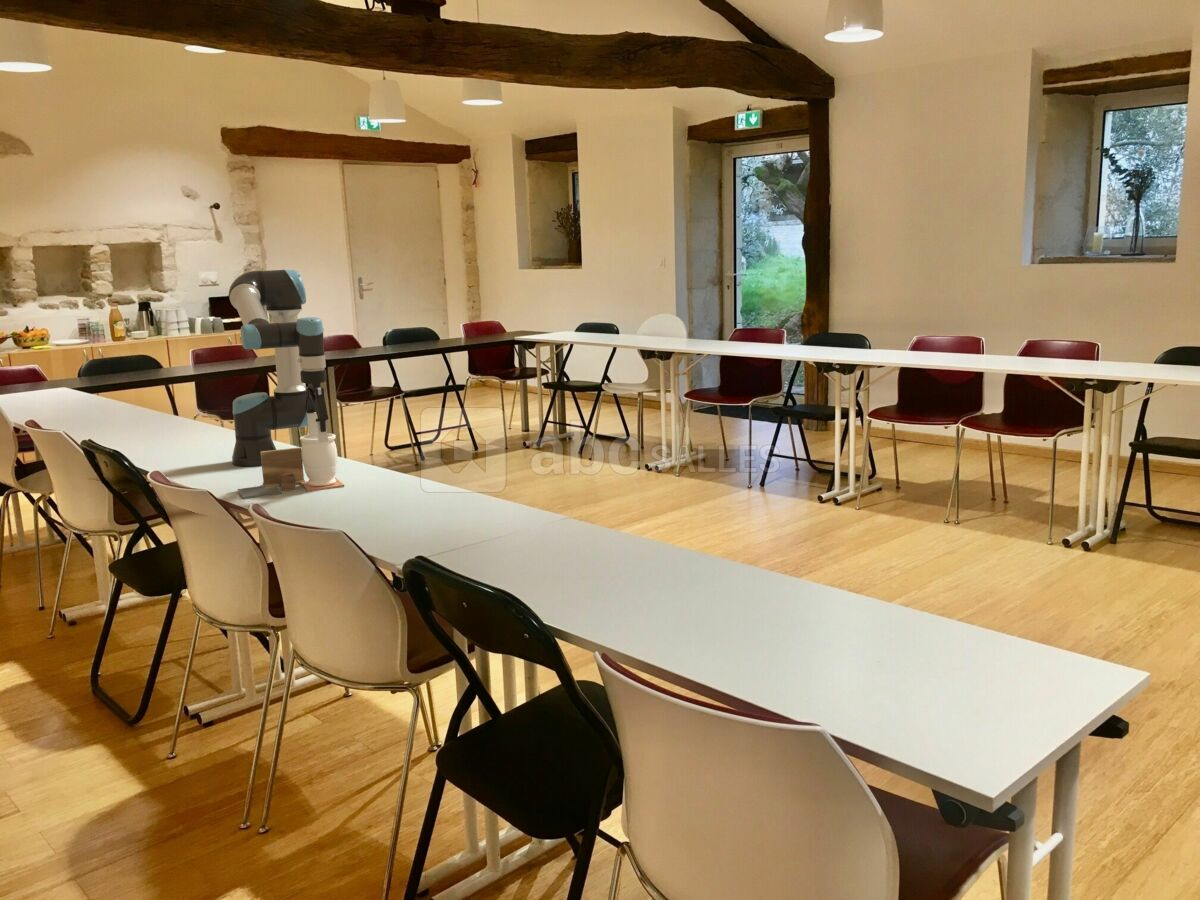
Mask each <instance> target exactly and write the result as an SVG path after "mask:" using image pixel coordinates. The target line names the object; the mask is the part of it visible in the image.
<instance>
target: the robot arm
mask: <svg viewBox="0 0 1200 900" xmlns="http://www.w3.org/2000/svg"><path fill="white" fill-rule="evenodd" d="M228 298H229V301H230V304H231V305H232V306H233V308H234V309H236V310H237V312H238V313H237V314H238V315H239V318H240V321H241V323H242V326H241V327H240V340H241V345H242V347H243V349H245V350H254V351H255V350H256V351H257V350H263V349H264V350H265V349H266V350H267V349H274V359H275V371H276V380H277V385H276V387H275V388H274V389H273V395H270V396H269V395H268V393H267V392H265V391H264V392H263V391H261V392H254V393H253V392H252V393H249V394H244V395H241V396H238V397H235V399H233V401H232V412H231V413H232V415H233V424H234V435H235V443H234V448H233V453H232V455H231V456H232V457H231V461H232V462H231V463H232V465H234V466H238V467H256V466H262V462H261V452H262V451H271V450H277V448H276V445H275V442H274V441H273V438H272V431H275V430H284V429H293V428H294V429H295V428H296V429H300V428H303V427H307V430H308V431H307V432H308V435H309V434H317V433H318V441H319V443H321V442H328V432H329V431H328V420H329V415H328V414H329V413H328V408H327V403H326V398H325V392H324V391H325V389H324V387H321V383H326V381H327V378H328V377H327V370H326V369H325V368H326V367H327V365H326V364H327V363H326V353H325V341H324V332H325V331H324V325H323V320H322V318H320V317H315V316H314V317H313V316H312V317H310V316H309V317H301V318H299V314H300V313H301V311H303V308H302V307H303V306H302V305H305V304H306V303H307V293H306V288H305V284H304V281H303V278H302V275H301V274H300V273H299V272H298V271H297V270H294V269H274V270H271V269H270V270H251V271H246V272H244V273H242V274H241V275H239V276H238V277H237V278H235V279H234V281H233V282H232V283H231V285H230V287H229V289H228ZM263 306H265V310H264V307H263ZM265 311H266V312H267V313H268V314H269V315H270V316H271V322H270V320H269V319H268V317H267V315H266V312H265Z"/></svg>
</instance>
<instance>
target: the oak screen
mask: <svg viewBox="0 0 1200 900" xmlns="http://www.w3.org/2000/svg"><path fill="white" fill-rule="evenodd" d="M261 462H262V465H261V470H262V486H265V487H267V486H275V485H276V486H277V487H278V488H280V482H279V475H282V474H286V473H291V474H293V475H294V476H295V483H296V486H297V485H301V484H300V482H306V480H305V477H304V475H305V474H304V465H303V461H302V446H301V447H300V446H299V447H290V448H289V447H288V448H282V449H276V450H271V451H262V452H261Z"/></svg>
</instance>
